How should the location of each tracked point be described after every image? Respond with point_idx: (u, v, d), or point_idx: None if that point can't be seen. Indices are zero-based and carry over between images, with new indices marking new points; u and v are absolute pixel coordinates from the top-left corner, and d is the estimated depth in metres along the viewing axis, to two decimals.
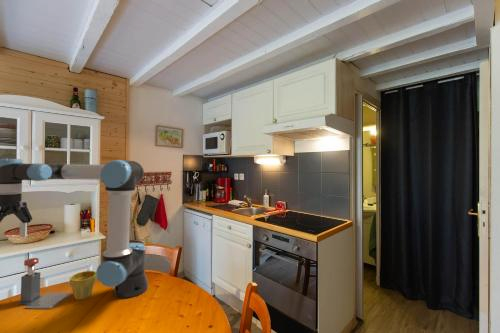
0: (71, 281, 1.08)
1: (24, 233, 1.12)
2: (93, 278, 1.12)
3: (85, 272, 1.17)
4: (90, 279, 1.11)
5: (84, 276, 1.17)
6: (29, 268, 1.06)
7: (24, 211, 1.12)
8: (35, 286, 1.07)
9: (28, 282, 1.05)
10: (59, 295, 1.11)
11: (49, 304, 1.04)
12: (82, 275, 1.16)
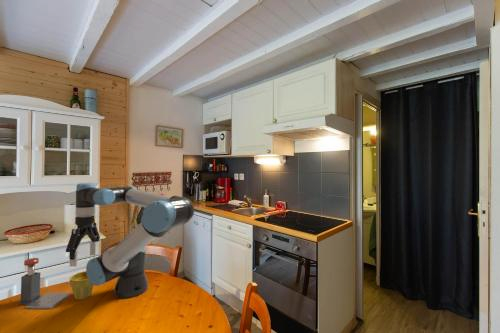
0: (71, 281, 1.08)
1: (94, 252, 1.19)
2: None
3: (85, 272, 1.17)
4: None
5: (84, 276, 1.17)
6: (29, 268, 1.06)
7: (94, 231, 1.20)
8: (35, 286, 1.07)
9: (28, 282, 1.05)
10: (59, 295, 1.11)
11: (49, 304, 1.04)
12: (82, 275, 1.16)
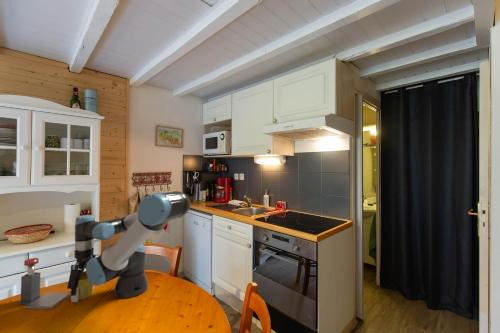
0: None
1: None
2: None
3: (85, 272, 1.17)
4: None
5: (84, 276, 1.17)
6: (29, 268, 1.06)
7: None
8: (35, 286, 1.07)
9: (28, 282, 1.05)
10: (59, 295, 1.11)
11: (49, 304, 1.04)
12: (82, 275, 1.16)
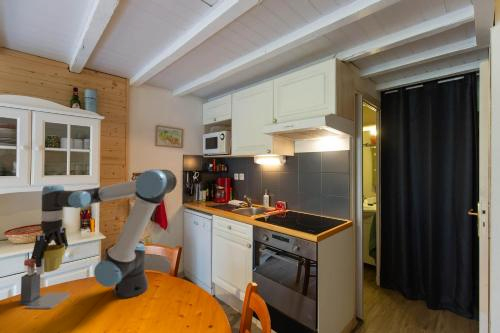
0: None
1: None
2: (61, 250, 1.07)
3: (54, 245, 1.12)
4: (57, 251, 1.06)
5: (53, 249, 1.12)
6: (29, 268, 1.06)
7: (62, 237, 1.14)
8: (35, 286, 1.07)
9: (28, 282, 1.05)
10: (59, 295, 1.11)
11: (49, 304, 1.04)
12: (50, 248, 1.11)
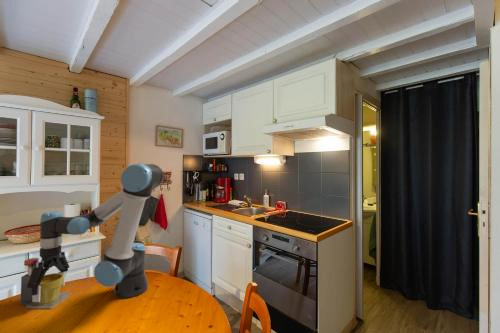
0: None
1: None
2: (59, 281, 1.06)
3: (52, 275, 1.11)
4: (55, 282, 1.05)
5: (51, 279, 1.11)
6: (29, 268, 1.06)
7: (62, 261, 1.15)
8: None
9: None
10: (59, 295, 1.11)
11: (49, 304, 1.04)
12: (48, 277, 1.11)
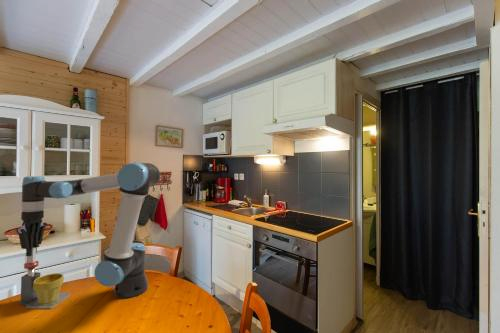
0: (34, 284, 1.02)
1: None
2: (59, 281, 1.07)
3: (52, 275, 1.11)
4: (55, 282, 1.05)
5: (51, 279, 1.11)
6: (29, 271, 1.06)
7: (39, 232, 1.11)
8: None
9: (28, 282, 1.05)
10: (59, 295, 1.11)
11: (49, 304, 1.04)
12: (49, 277, 1.11)
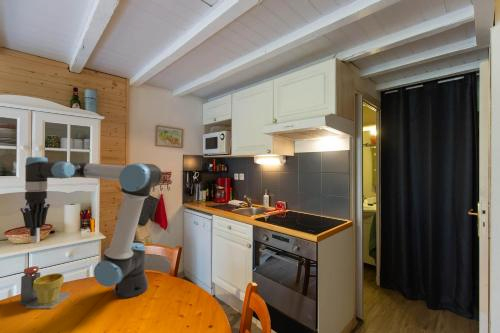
0: (34, 284, 1.02)
1: None
2: (59, 281, 1.07)
3: (52, 275, 1.11)
4: (55, 282, 1.05)
5: (51, 279, 1.11)
6: None
7: (42, 213, 1.12)
8: None
9: (28, 282, 1.05)
10: (59, 295, 1.11)
11: (49, 304, 1.04)
12: (49, 277, 1.11)
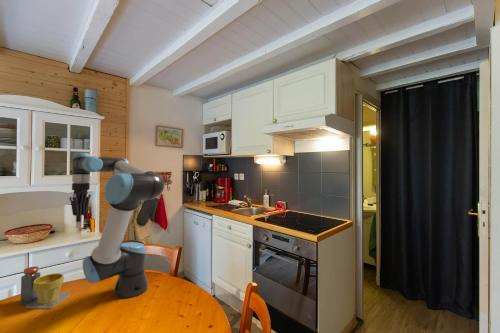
0: (34, 284, 1.02)
1: None
2: (59, 281, 1.07)
3: (52, 275, 1.11)
4: (55, 282, 1.05)
5: (51, 279, 1.11)
6: None
7: (85, 202, 1.27)
8: None
9: (28, 282, 1.05)
10: (59, 295, 1.11)
11: (49, 304, 1.04)
12: (49, 277, 1.11)
